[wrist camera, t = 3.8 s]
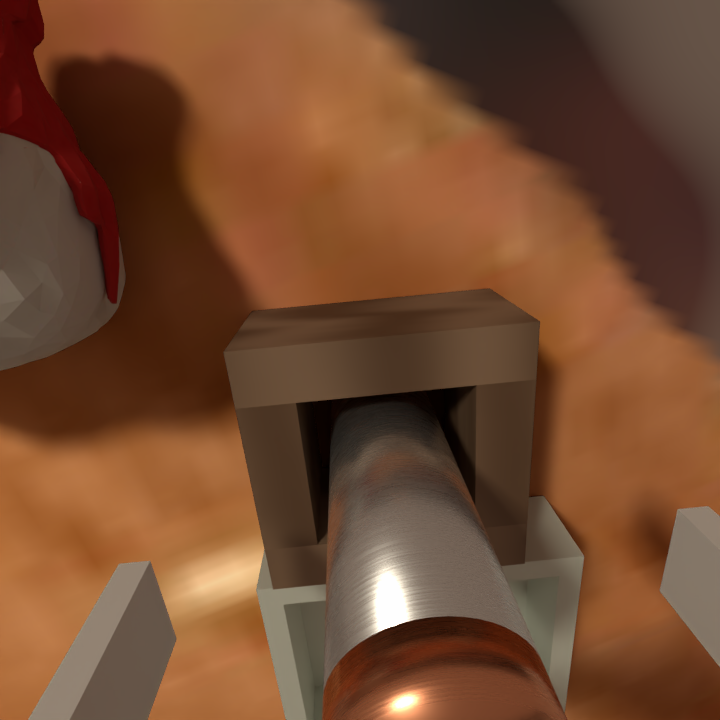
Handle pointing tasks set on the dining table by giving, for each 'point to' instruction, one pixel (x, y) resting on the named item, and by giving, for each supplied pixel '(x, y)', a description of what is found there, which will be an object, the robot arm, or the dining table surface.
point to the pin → (417, 581)
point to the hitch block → (376, 377)
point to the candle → (48, 211)
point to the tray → (527, 581)
